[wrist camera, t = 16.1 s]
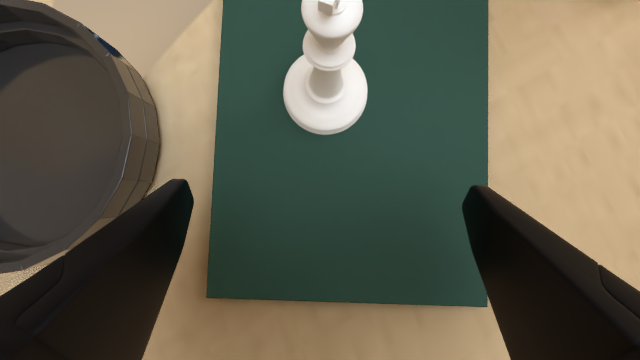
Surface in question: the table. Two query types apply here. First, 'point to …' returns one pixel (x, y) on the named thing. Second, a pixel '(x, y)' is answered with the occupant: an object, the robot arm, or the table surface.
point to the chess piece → (327, 69)
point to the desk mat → (351, 160)
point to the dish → (66, 134)
